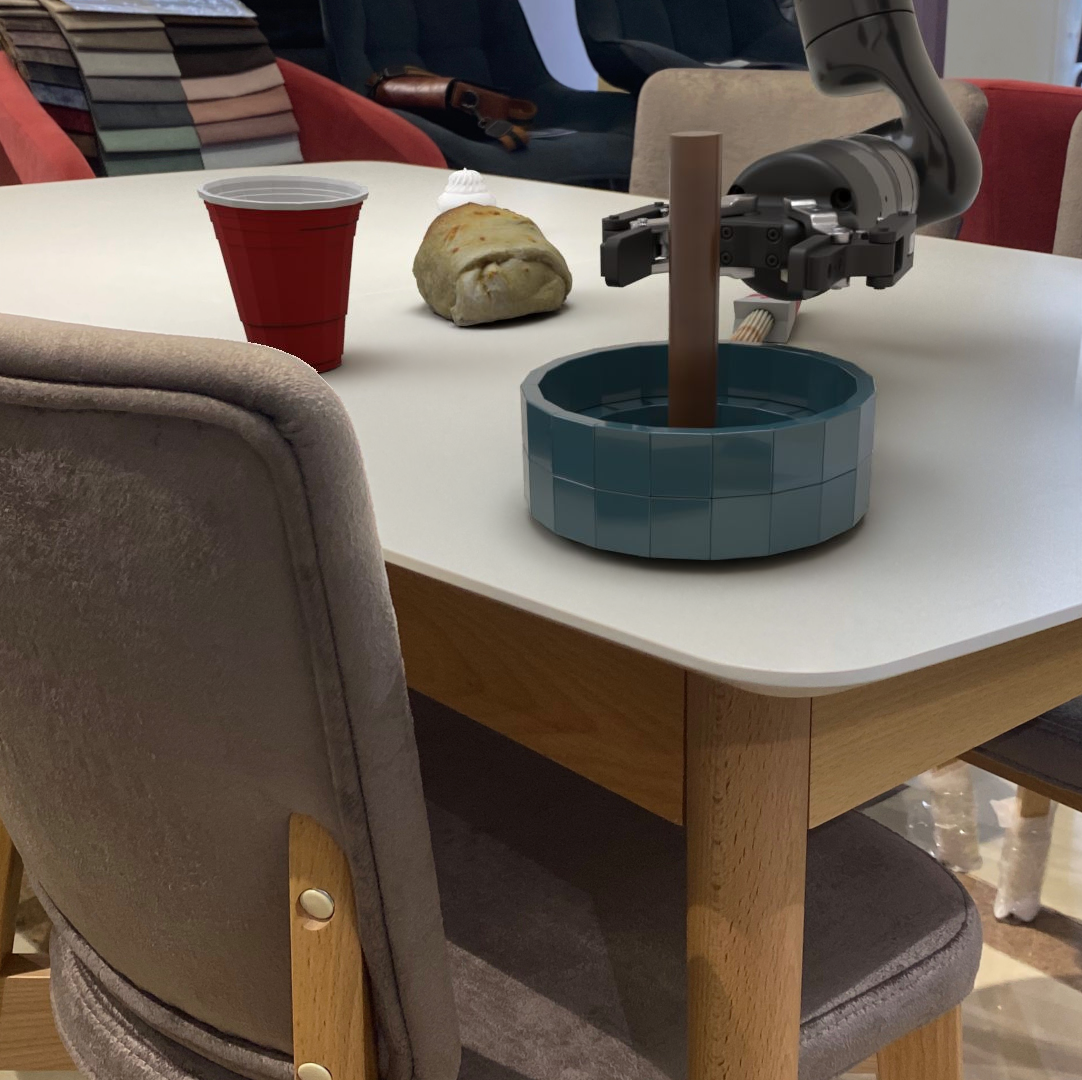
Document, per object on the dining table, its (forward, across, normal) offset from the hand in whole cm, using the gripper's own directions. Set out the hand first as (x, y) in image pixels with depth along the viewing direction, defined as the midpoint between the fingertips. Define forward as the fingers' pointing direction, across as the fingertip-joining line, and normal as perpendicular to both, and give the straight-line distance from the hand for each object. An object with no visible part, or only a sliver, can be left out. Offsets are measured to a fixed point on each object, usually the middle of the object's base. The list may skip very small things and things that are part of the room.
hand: (700, 270), depth 56 cm
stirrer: (0, 0, +10) cm, 10 cm away
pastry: (-34, -31, +11) cm, 47 cm away
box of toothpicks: (-31, -8, +11) cm, 34 cm away
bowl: (0, 0, +11) cm, 11 cm away
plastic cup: (-14, -34, +11) cm, 39 cm away
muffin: (-63, -51, +11) cm, 82 cm away
